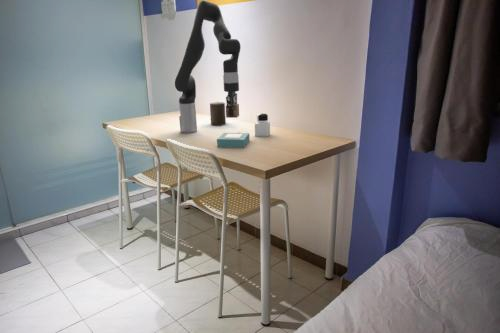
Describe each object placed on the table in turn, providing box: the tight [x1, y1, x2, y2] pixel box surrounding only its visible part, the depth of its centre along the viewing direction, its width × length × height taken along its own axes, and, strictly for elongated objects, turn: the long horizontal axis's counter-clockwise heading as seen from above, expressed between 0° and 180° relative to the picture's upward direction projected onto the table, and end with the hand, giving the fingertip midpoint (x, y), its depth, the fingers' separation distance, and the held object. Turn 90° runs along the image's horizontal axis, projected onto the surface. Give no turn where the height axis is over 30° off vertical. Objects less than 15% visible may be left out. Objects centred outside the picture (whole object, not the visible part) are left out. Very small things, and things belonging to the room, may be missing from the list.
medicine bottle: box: [254, 113, 271, 138], centre depth 210 cm, size 7×7×12 cm
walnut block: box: [225, 103, 240, 119], centre depth 190 cm, size 6×6×6 cm
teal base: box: [216, 132, 250, 148], centre depth 195 cm, size 14×14×4 cm
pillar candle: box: [209, 101, 227, 126], centre depth 242 cm, size 10×10×15 cm
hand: (232, 115), depth 191 cm, fingers closed on walnut block, 5 cm apart
